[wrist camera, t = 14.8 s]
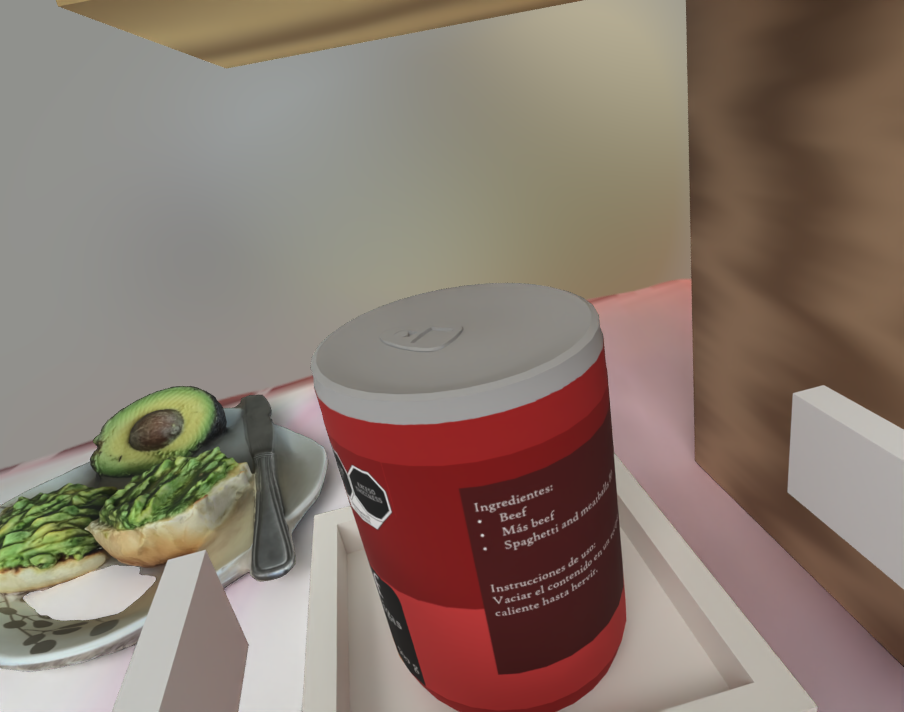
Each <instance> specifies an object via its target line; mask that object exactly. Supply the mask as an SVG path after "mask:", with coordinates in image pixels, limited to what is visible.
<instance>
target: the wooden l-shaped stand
mask: <svg viewBox="0 0 904 712" xmlns="http://www.w3.org/2000/svg"><path fill="white" fill-rule="evenodd" d="M577 1H582V0H56V2H57V5H58V6H59V7H62V8H64V9H67V10H70V11H72V12H75V13H78V14H80V15H83V16H86V17H89V18H91V19H94V20H97V21H99V22H102V23H105V24H107V25H110V26H113V27H116V28H118V29H121V30H124V31H126V32H129V33H132V34H134V35H137V36H140V37H143V38H145V39H148V40H151V41H154V42H156V43H159V44H162V45H164V46H167V47H170V48H172V49H175V50H178V51H181V52H183V53H186V54H189V55H191V56H194V57H197V58H199V59H202V60H205V61H208V62H210V63H213V64H216V65H218V66H221V67H224V68H231V67H236V66H242V65H247V64H252V63H258V62H262V61H268V60H273V59H278V58H283V57H289V56H294V55H299V54H305V53H310V52H315V51H320V50H325V49H330V48H336V47H341V46H346V45H352V44H357V43H362V42H367V41H372V40H378V39H383V38H388V37H394V36H399V35H404V34H409V33H415V32H420V31H425V30H430V29H435V28H441V27H446V26H450V25H456V24H462V23H467V22H472V21H477V20H482V19H488V18H493V17H498V16H503V15H509V14H514V13H519V12H524V11H530V10H535V9H540V8H545V7H550V6H556V5H561V4H566V3H572V2H577ZM686 22H687V23H686V24H687V74H688V75H687V76H688V124H689V126H688V127H689V176H690V177H689V178H690V224H691V225H690V227H691V275H692V276H691V279H692V329H693V380H694V430H695V461H696V462H697V463H698V464H699V465H700V466H701V467H702V468H703V469H704V470H705V471H706V472H707V473H708V474H709V475H710V476H711V477H712V478H713V479H714V480H715V481H716V482H717V483H718V484H719V485H720V486H721V487H722V488H723V489H724V490H725V491H726V492H727V493H728V494H729V495H730V496H731V497H732V498H733V499H734V500H735V501H736V502H737V503H738V504H739V505H740V506H741V507H742V508H743V509H744V510H745V511H746V512H747V513H748V514H749V515H750V516H751V517H752V518H753V519H754V520H755V521H756V522H757V523H758V524H759V525H760V526H761V527H762V528H763V529H764V530H766V531H767V532H768V533H769V534H770V535H771V536H772V537H773V538H774V539H775V540H776V541H777V542H778V543H779V544H780V545H781V546H782V547H783V548H784V549H785V550H786V551H787V552H788V553H789V554H790V555H791V556H792V557H793V558H794V559H795V560H796V561H797V562H798V563H799V564H800V565H801V566H802V567H803V568H804V569H805V570H806V571H807V572H808V573H809V574H810V575H811V576H812V577H813V578H814V579H815V580H816V581H817V582H818V583H819V584H820V585H821V586H822V587H823V588H824V589H825V590H826V591H827V592H828V593H829V594H830V595H831V596H832V597H833V598H834V599H836V600H837V601H838V602H839V603H840V604H841V605H842V606H843V607H844V608H845V609H846V610H847V611H848V612H849V613H850V614H851V615H852V616H853V617H854V618H855V619H856V620H857V621H858V622H859V623H860V624H861V625H862V626H863V627H864V628H865V629H866V630H867V631H868V632H869V633H870V634H871V635H872V636H873V637H874V638H875V639H876V640H877V641H878V642H879V643H880V644H881V645H882V646H883V647H884V648H885V649H886V650H887V651H888V652H889V653H890V654H891V655H892V656H893V657H894V658H895V659H896V660H897V661H898V662H899V663H900V664H901V665H902V666H903V667H904V589H903V588H901V587H900V586H899V585H898V584H897V583H895V582H894V581H893V580H892V579H891V578H889V577H888V576H887V575H886V574H885V573H883V572H882V571H881V570H880V569H879V568H877V567H876V566H875V565H874V564H873V563H872V562H870V561H869V560H868V559H867V558H866V557H864V556H863V555H862V554H861V553H860V552H858V551H857V550H856V549H855V548H854V547H852V546H851V545H850V544H849V543H848V542H846V541H845V540H844V539H843V538H842V537H840V536H839V535H838V534H837V533H836V532H834V531H833V530H832V529H831V528H830V527H828V526H827V525H826V524H825V523H824V522H822V521H821V520H820V519H819V518H818V517H817V516H815V515H814V514H813V513H812V512H811V511H809V510H808V509H807V508H806V507H805V506H803V505H802V504H801V503H800V502H799V501H797V500H796V499H795V498H794V497H793V496H791V495H790V494H789V493H788V492H787V490H788V472H789V454H790V436H791V417H792V399H793V393H796V392H800V391H803V390H807V389H811V388H815V387H818V386H822V385H825V386H826V387H828V388H830V389H832V390H834V391H835V392H837V393H839V394H841V395H843V396H844V397H846V398H848V399H850V400H852V401H853V402H855V403H857V404H859V405H860V406H862V407H864V408H866V409H868V410H869V411H871V412H873V413H875V414H877V415H878V416H880V417H882V418H884V419H886V420H887V421H889V422H891V423H893V424H895V425H896V426H898V427H900V428H902V429H904V0H686Z"/></svg>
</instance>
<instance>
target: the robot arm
mask: <svg viewBox="0 0 904 712" xmlns="http://www.w3.org/2000/svg"><path fill="white" fill-rule="evenodd" d="M787 492H788V493H789V494H790V495H791V496H793V497H794V498H795V499H796V500H797V501H799V502H800V503H801V504H802V505H803V506H805V507H806V508H807V509H808V510H809V511H811V512H812V513H813V514H814V515H815V516H817V517H818V518H819V519H820V520H821V521H822V522H824V523H825V524H826V525H827V526H828V527H830V528H831V529H832V530H833V531H834V532H836V533H837V534H838V535H839V536H840V537H842V538H843V539H844V540H845V541H846V542H848V543H849V544H850V545H851V546H852V547H854V548H855V549H856V550H857V551H858V552H860V553H861V554H862V555H863V556H864V557H866V558H867V559H868V560H869V561H870V562H872V563H873V564H874V565H875V566H876V567H877V568H879V569H880V570H881V571H882V572H883V573H885V574H886V575H887V576H888V577H889V578H891V579H892V580H893V581H894V582H895V583H897V584H898V585H899V586H900V587H901V588H903V589H904V429H902V428H900V427H898V426H896V425H895V424H893V423H891V422H889V421H887V420H886V419H884V418H882V417H880V416H878V415H877V414H875V413H873V412H871V411H869V410H868V409H866V408H864V407H862V406H860V405H859V404H857V403H855V402H853V401H852V400H850V399H848V398H846V397H844V396H843V395H841V394H839V393H837V392H835V391H834V390H832V389H830V388H828V387H826V386H825V385H822V386H818V387H815V388H811V389H807V390H803V391H800V392H796V393H793V399H792V417H791V436H790V454H789V472H788V490H787ZM248 646H249V644H248V642H247V640H246V638H245V636H244V633H243V631H242V629H241V627H240V624H239V622H238V620H237V618H236V616H235V613H234V611H233V609H232V607H231V604H230V602H229V600H228V598H227V596H226V593H225V591H224V589H223V587H222V584H221V582H220V580H219V578H218V576H217V573H216V571H215V569H214V567H213V565H212V562H211V560H210V558H209V556H208V553H207V551H206V550H203V551H199V552H195V553H192V554H188V555H184V556H180V557H177V558H173V559H169V560H168V561H167V564H166V566H165V569H164V572H163V574H162V577H161V580H160V582H159V585H158V588H157V591H156V593H155V596H154V599H153V601H152V604H151V607H150V610H149V612H148V615H147V618H146V620H145V623H144V626H143V629H142V631H141V634H140V637H139V639H138V642H137V645H136V647H135V650H134V653H133V656H132V658H131V661H130V664H129V666H128V669H127V672H126V675H125V677H124V680H123V683H122V685H121V688H120V691H119V693H118V696H117V699H116V702H115V704H114V707H113V710H112V712H238V709H239V703H240V697H241V690H242V684H243V678H244V671H245V665H246V659H247V652H248Z"/></svg>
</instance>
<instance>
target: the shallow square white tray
mask: <svg viewBox="0 0 904 712" xmlns="http://www.w3.org/2000/svg"><path fill="white" fill-rule="evenodd" d="M614 462H615V474H616V487H617V499H618V512H619V524H620V537H621V549H622V562H623V574H624V587H625V599H626V624H625V629H624V633H623V637H622V641H621V644H620V646H619V649H618V651H617V654H616V656H615V658H614V660H613V662H612V664H611V666H610V668H609V670H608V672H607V674H606V675H605V676H604V677H603V678H602V679H601V680H600V682H599V683H598V684H597V685H596V686H595V687H594V689H593V690H591V691H590V692H589V693H587V694H586V695H585V696H583V697H582V698H581V699H579V700H578V701H577V702H575V703H574V704H572V705H570V706H567V707H565V708H563V709H561V710H559V711H557V712H817V710H818V706H817V705H816V704H815V702H814V701H813V700H812V699H811V697H810V696H809V695H808V694H807V692H806V691H805V690H804V689H803V687H802V686H801V685H800V684H799V682H798V681H797V680H796V679H795V677H794V676H793V675H792V674H791V672H790V671H789V670H788V669H787V667H786V666H785V665H784V664H783V662H782V661H781V660H780V659H779V658H778V656H777V655H776V654H775V653H774V651H773V650H772V649H771V648H770V646H769V645H768V644H767V643H766V641H765V640H764V639H763V638H762V636H761V635H760V634H759V633H758V631H757V630H756V629H755V628H754V626H753V625H752V624H751V623H750V621H749V620H748V619H747V618H746V616H745V615H744V614H743V613H742V611H741V610H740V609H739V608H738V606H737V605H736V604H735V603H734V601H733V600H732V599H731V598H730V596H729V595H728V594H727V593H726V591H725V590H724V589H723V588H722V587H721V585H720V584H719V583H718V582H717V580H716V579H715V578H714V577H713V575H712V574H711V573H710V572H709V570H708V569H707V568H706V567H705V565H704V564H703V563H702V562H701V560H700V559H699V558H698V557H697V555H696V554H695V553H694V552H693V550H692V549H691V548H690V547H689V545H688V544H687V543H686V542H685V540H684V539H683V538H682V537H681V535H680V534H679V533H678V532H677V530H676V529H675V528H674V527H673V525H672V524H671V523H670V522H669V520H668V519H667V518H666V517H665V516H664V514H663V513H662V512H661V511H660V509H659V508H658V507H657V506H656V504H655V503H654V502H653V501H652V499H651V498H650V497H649V496H648V494H647V493H646V492H645V491H644V489H643V488H642V487H641V486H640V484H639V483H638V482H637V481H636V479H635V478H634V477H633V476H632V474H631V473H630V472H629V471H628V469H627V468H626V467H625V466H624V464H623V463H622V462H621V461H620V459H619V458H618V457H617V456H616V454H615V453H614ZM302 712H460V711H457V710H455V709H453V708H451V707H449V706H448V705H446V704H444V703H443V702H441V701H439V700H437V699H436V698H435V697H434V696H433V695H432V694H431V693H430V692H429V691H427V690H426V689H425V688H424V687H423V686H422V685H421V684H420V683H419V682H418V680H417V679H416V678H415V677H414V676H413V675H412V674H411V673H410V671H409V670H408V668H407V667H406V665H405V664H404V662H403V661H402V659H401V658H400V656H399V654H398V651H397V648H396V646H395V643H394V640H393V637H392V634H391V631H390V628H389V625H388V622H387V618H386V615H385V612H384V609H383V606H382V603H381V600H380V596H379V593H378V590H377V587H376V584H375V581H374V578H373V574H372V571H371V568H370V565H369V562H368V559H367V556H366V553H365V549H364V546H363V543H362V540H361V537H360V534H359V531H358V527H357V524H356V521H355V518H354V515H353V512H352V509H351V506H348V507H344V508H341V509H337V510H333V511H329V512H325V513H321V514H317V515H314V524H313V540H312V556H311V572H310V588H309V605H308V621H307V637H306V653H305V669H304V686H303V702H302Z"/></svg>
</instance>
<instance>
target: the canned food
mask: <svg viewBox="0 0 904 712" xmlns="http://www.w3.org/2000/svg"><path fill="white" fill-rule="evenodd" d="M311 371H312V374H313V377H314V389H315V392H316V395H317V398H318V402H319V405H320V408H321V411H322V415H323V420H324V424H325V427H326V430H327V433H328V436H329V439H330V443H331V446H332V449H333V452H334V455H335V458H336V461H337V465H338V468H339V471H340V474H341V477H342V480H343V483H344V487H345V490H346V493H347V496H348V499H349V502H350V505H351V509H352V512H353V515H354V518H355V521H356V524H357V527H358V531H359V534H360V537H361V540H362V543H363V546H364V549H365V553H366V556H367V559H368V562H369V565H370V568H371V571H372V574H373V578H374V581H375V584H376V587H377V590H378V593H379V596H380V600H381V603H382V606H383V609H384V612H385V615H386V618H387V622H388V625H389V628H390V631H391V634H392V637H393V640H394V643H395V646H396V648H397V651H398V654H399V656H400V658H401V659H402V661H403V662H404V664H405V665H406V667H407V668H408V670H409V671H410V673H411V674H412V675H413V676H414V677H415V678H416V679H417V680H418V682H419V683H420V684H421V685H422V686H423V687H424V688H425V689H426V690H427V691H429V692H430V693H431V694H432V695H433V696H434V697H435V698H436V699H437V700H439V701H441V702H443V703H444V704H446V705H448V706H449V707H451V708H453V709H455V710H457V711H460V712H557V711H559V710H561V709H563V708H565V707H567V706H570V705H572V704H574V703H575V702H577V701H578V700H579V699H581V698H582V697H583V696H585V695H586V694H587V693H589V692H590V691H591V690H593V689H594V687H595V686H596V685H597V684H598V683H599V682H600V680H601V679H602V678H603V677H604V676H605V675H606V674H607V672H608V670H609V668H610V666H611V664H612V662H613V660H614V658H615V656H616V654H617V651H618V649H619V646H620V644H621V641H622V637H623V633H624V629H625V624H626V599H625V587H624V574H623V562H622V549H621V537H620V524H619V512H618V499H617V487H616V474H615V462H614V449H613V437H612V424H611V412H610V400H609V387H608V375H607V367H606V361H605V350H604V338H603V333H602V331H601V328H600V322H599V315H598V313H597V311H596V309H595V308H594V306H593V305H592V304H591V303H589V302H588V301H587V300H585V299H584V298H582V297H580V296H578V295H576V294H573V293H571V292H568V291H565V290H561V289H557V288H553V287H548V286H541V285H534V284H521V283H490V284H477V285H467V286H459V287H453V288H446V289H441V290H436V291H431V292H427V293H422V294H419V295H415V296H411V297H408V298H404V299H400V300H398V301H395V302H392V303H389V304H386V305H383V306H381V307H378V308H376V309H373V310H371V311H369V312H367V313H364V314H362V315H360V316H358V317H357V318H355V319H353V320H351V321H349V322H347V323H346V324H344V325H343V326H341V327H340V328H338V329H337V330H336V331H334V332H333V333H331V334H330V335H329V336H328V337H327V338H326V339H325V340H324V341H323V342H322V343H321V344H320V345H319V346H318V347H317V349H316V351H315V352H314V354H313V356H312V359H311Z"/></svg>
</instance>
